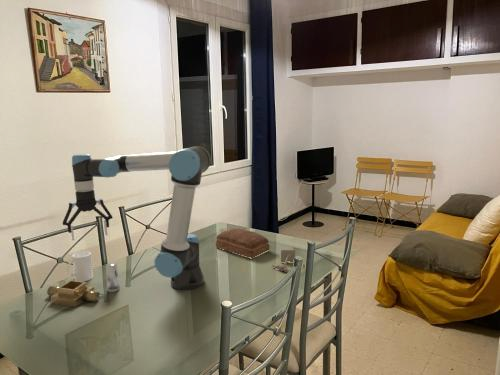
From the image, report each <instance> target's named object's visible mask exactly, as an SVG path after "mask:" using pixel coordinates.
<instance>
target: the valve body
mask: <svg viewBox="0 0 500 375" xmlns="http://www.w3.org/2000/svg"><path fill="white" fill-rule="evenodd" d="M46 294H47V295H48V296H50V302H51V304H54V305H62V306H69V307H75V308H77V307H78V306H79V305H81V304H82V303H84V302H85V301H86V302H93V303H97V302H98V301H99V299H100V296H101V295H100V292H98V291H95V287H94V286H90V285H89V286H88V283H87V281H75V280H73V279H70V280H69V281H67V282H65V283H64V284H62V285H60V286H55V285H51V286H49V287H48V288H47V291H46Z"/></svg>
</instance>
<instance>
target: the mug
mask: <svg viewBox="0 0 500 375" xmlns="http://www.w3.org/2000/svg"><path fill="white" fill-rule="evenodd" d="M71 264H72V266H73V273H71V272H70V270H69V267H70V265H71ZM66 272H67V274H69V275H70V276H72V277H73V278H74V281H82V282H87V281H90V280H92V279H93V278H94V274H93V272H94V271H93V261H92V253H91V252H90V251H86V250H83V251H77V252H75V253H73V254H72V260H70V261H69V263H68V264H67V267H66Z"/></svg>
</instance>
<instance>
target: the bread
mask: <svg viewBox="0 0 500 375" xmlns="http://www.w3.org/2000/svg"><path fill="white" fill-rule="evenodd" d="M216 247H218V248H221V249H224V250H227V251H230V252H234V253H237V254H240V255H244V256H247V257H251V258H253V257H255V256H257V255H259V254H261V253H263V252H265V251H267V250H269V249H270V248H271V247H270V243H269V239H268V238H267V237H265V236H264V235H262V234H260V233H257V232H256V231H255V232H254V231H250V230H247V229H243V228H230V229H229V230H225V231H222V232H221V233H219V234H217V235H216V242H215V248H216ZM218 248H217V249H218ZM221 249H220V250H221ZM224 250H223V251H224ZM227 251H226V252H227ZM269 251H270V250H269ZM230 252H229V253H230Z"/></svg>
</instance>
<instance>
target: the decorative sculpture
mask: <svg viewBox="0 0 500 375" xmlns="http://www.w3.org/2000/svg"><path fill="white" fill-rule="evenodd" d="M294 257H295V258H296V250H295V249H294V248H293V249H292V248H289V249H288V248H285V249H281V250H280V263H281V262H285V263H283V264H278V265H273V264H272V265H271V267H272V266H273V267H275V268H277V269H279V270H281V271H280V272H282V271H284V272H283V273H286V272H289V269H288V267H287V263H286V262H287V261H290V262H293V259H294ZM275 268H274V269H275Z"/></svg>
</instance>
